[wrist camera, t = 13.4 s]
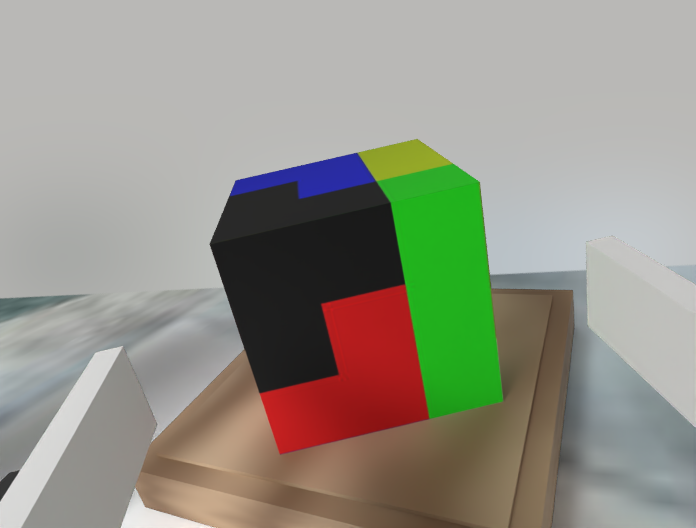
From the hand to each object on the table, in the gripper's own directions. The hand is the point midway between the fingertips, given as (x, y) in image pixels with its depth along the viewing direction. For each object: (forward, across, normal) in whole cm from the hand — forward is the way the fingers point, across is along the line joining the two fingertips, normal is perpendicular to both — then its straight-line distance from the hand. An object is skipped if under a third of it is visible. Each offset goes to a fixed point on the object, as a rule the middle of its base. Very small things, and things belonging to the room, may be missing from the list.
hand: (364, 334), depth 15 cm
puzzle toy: (+10, 0, -8) cm, 13 cm away
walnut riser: (+10, 0, -11) cm, 15 cm away
